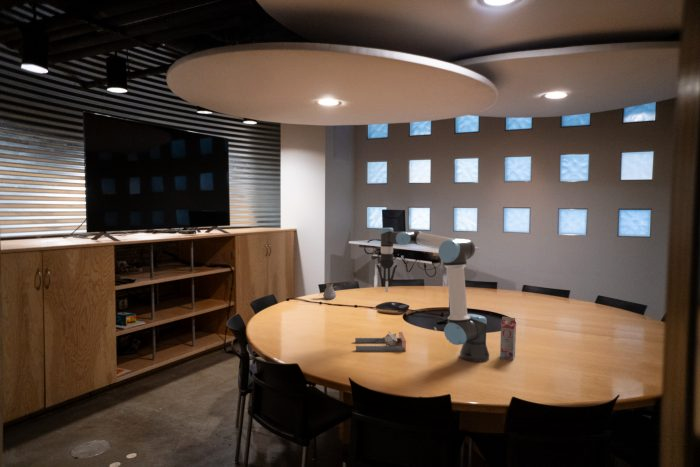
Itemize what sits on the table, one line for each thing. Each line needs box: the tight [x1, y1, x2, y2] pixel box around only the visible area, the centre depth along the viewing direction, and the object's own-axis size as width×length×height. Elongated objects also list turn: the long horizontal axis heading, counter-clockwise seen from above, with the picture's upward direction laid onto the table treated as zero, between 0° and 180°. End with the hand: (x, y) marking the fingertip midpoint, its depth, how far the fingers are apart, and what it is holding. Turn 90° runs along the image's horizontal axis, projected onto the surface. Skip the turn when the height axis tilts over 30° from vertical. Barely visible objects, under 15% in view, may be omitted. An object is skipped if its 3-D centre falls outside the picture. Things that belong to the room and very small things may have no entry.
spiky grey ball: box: [382, 331, 399, 346], centre depth 255 cm, size 9×8×10 cm
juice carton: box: [499, 316, 517, 361], centre depth 237 cm, size 7×7×22 cm
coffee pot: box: [322, 282, 346, 300], centre depth 383 cm, size 21×12×15 cm, turn 63°
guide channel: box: [354, 331, 407, 352], centre depth 255 cm, size 17×28×6 cm, turn 90°
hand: (386, 291), depth 267 cm, fingers closed
